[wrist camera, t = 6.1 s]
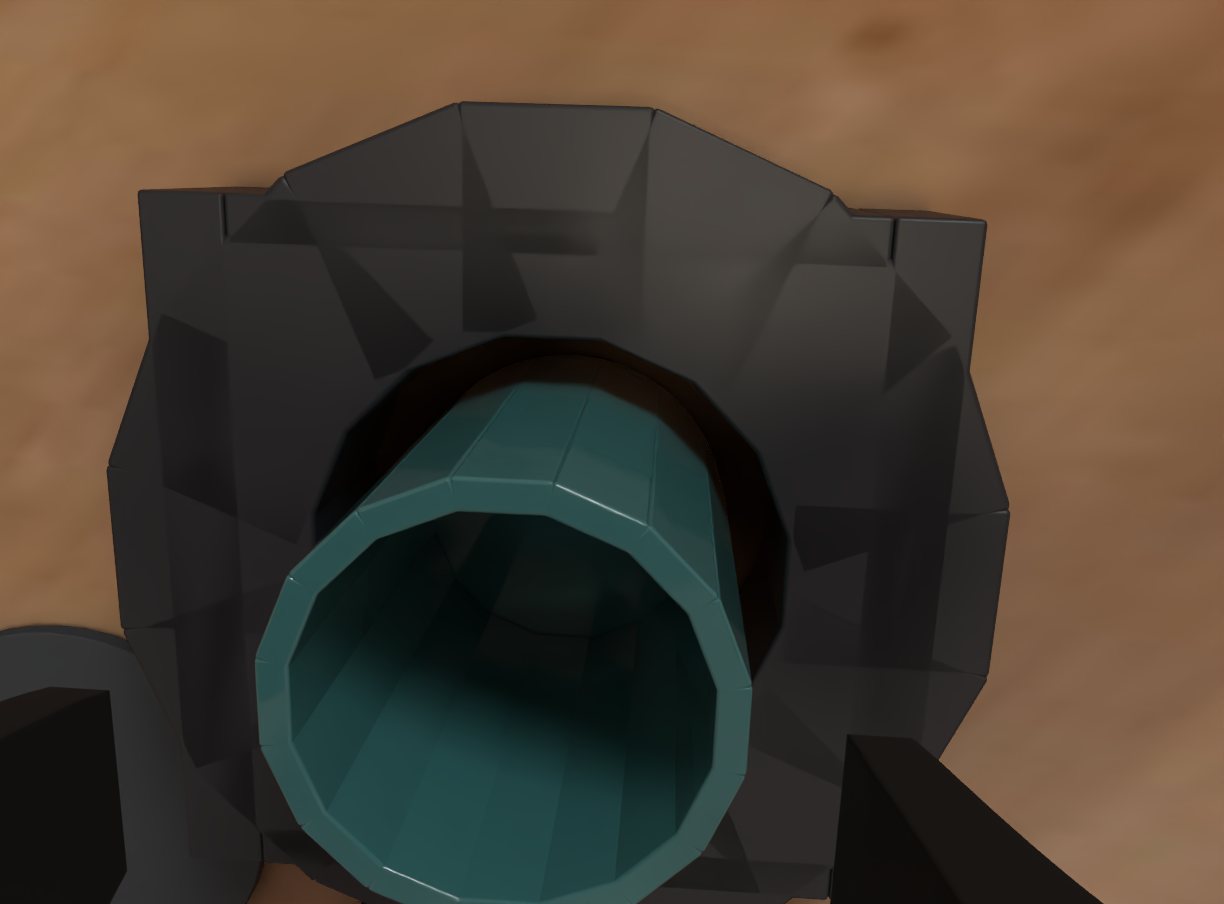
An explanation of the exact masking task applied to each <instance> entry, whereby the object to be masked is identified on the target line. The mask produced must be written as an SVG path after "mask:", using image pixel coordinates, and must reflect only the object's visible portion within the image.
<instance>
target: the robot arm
mask: <svg viewBox="0 0 1224 904" xmlns="http://www.w3.org/2000/svg"><path fill="white" fill-rule="evenodd" d="M126 872H127V863H126V852H125V842H124V832H123V822H122V811H121V801H120V791H119V781H118V771H117V760H116V750H115V740H114V730H113V720H112V709H111V699H110V690H98V689H81V688H65V687H47V688H43V689H39V690H35V691H32V692H28V693H25V694H21V695H18V696H15V697H12V698H9V699H6V700H3V701H0V904H110V903H111V901H112V899H113V897H114V895H115V893H116V891H117V889H118V888H119V886H120V884H121V882H122V880H123V878H124V876H125V874H126ZM830 904H1103V903H1102V902H1101V901H1099V900H1098V899H1097V898H1096V897H1094V896H1093V895H1092V894H1090V893H1089V892H1088V891H1087V890H1085V889H1084V888H1083V887H1082V886H1080V885H1079V884H1078V883H1077V882H1075V881H1074V880H1073V879H1072V878H1071V877H1069V876H1068V875H1067V874H1066V873H1065V872H1063V871H1062V870H1061V869H1060V868H1058V867H1057V866H1056V865H1055V864H1054V863H1052V862H1051V861H1050V860H1049V859H1048V858H1047V857H1045V856H1044V855H1043V854H1042V853H1041V852H1040V851H1038V850H1037V849H1036V848H1035V847H1034V846H1033V845H1031V844H1030V843H1029V842H1028V841H1027V840H1026V839H1025V838H1023V837H1022V836H1021V835H1020V834H1019V833H1018V832H1017V831H1015V830H1014V829H1013V828H1012V827H1011V826H1010V825H1009V824H1008V823H1006V822H1005V821H1004V820H1003V819H1002V818H1001V817H1000V816H999V815H998V814H996V813H995V812H994V811H993V810H992V809H991V808H990V807H989V806H988V805H986V804H985V803H984V802H983V801H982V800H981V799H980V798H979V797H978V796H977V795H976V794H974V793H973V792H972V791H971V790H970V789H969V788H968V787H967V786H966V785H965V784H964V783H962V782H961V781H960V780H959V779H958V778H957V777H956V776H955V775H954V774H953V773H952V772H951V771H949V770H948V769H947V768H946V767H945V766H944V765H943V764H942V763H941V762H940V761H939V760H937V759H936V758H935V757H934V756H933V755H932V754H931V753H930V752H928V751H927V750H926V749H925V748H924V747H923V746H921V745H920V744H919V743H918V742H917V741H915V740H914V739H913V738H903V737H886V736H870V735H853V734H847V740H846V750H845V760H844V770H843V780H842V790H841V800H840V811H839V821H838V831H837V841H836V851H835V861H834V871H833V881H832V891H831V901H830Z"/></svg>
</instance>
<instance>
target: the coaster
mask: <svg viewBox="0 0 1224 904" xmlns="http://www.w3.org/2000/svg"><path fill="white" fill-rule="evenodd" d="M47 687H65V688H81V689H98V690H110V699H111V709H112V720H113V730H114V740H115V750H116V760H117V771H118V781H119V791H120V801H121V811H122V822H123V832H124V842H125V852H126V863H127V872H126V874H125V876H124V878H123V880H122V882H121V884H120V886H119V888H118V889H117V891H116V893H115V895H114V897H113V899H112V901H111V903H110V904H246V903H247V902H248V900H249V898H250V896H251V894H252V892H253V890H254V888H255V886H256V884H257V883H258V880H259V877H260V874H261V871H262V868H263V865H264V862H265V861H264V859H263V861H261V862H250V861H235V860H220V859H205V858H192V857H191V856H190V848H189V835H188V823H187V810H186V798H185V785H184V772H183V760H182V747H181V743H180V741H179V739H178V737H177V735H176V733H175V731H174V730H173V728H172V726H171V724H170V722H169V720H168V718H167V716H166V714H165V712H164V710H163V708H162V706H161V704H160V702H159V701H158V699H157V697H156V695H155V693H154V691H153V689H152V687H151V685H150V683H149V681H148V679H147V677H146V675H145V673H144V671H143V670H142V668H141V666H140V664H139V662H138V660H137V658H136V656H135V654H134V652H133V650H132V648H131V646H130V644H129V642H128V641H127V640H124V639H122V638H119V637H116V636H113V635H110V634H106V633H102V632H98V631H94V630H89V629H85V628H76V627H68V626H27V627H20V628H13V629H7V630H3V631H0V701H3V700H6V699H9V698H12V697H15V696H18V695H21V694H25V693H28V692H32V691H35V690H39V689H43V688H47Z"/></svg>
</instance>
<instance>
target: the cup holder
mask: <svg viewBox="0 0 1224 904" xmlns="http://www.w3.org/2000/svg"><path fill="white" fill-rule="evenodd" d="M138 204H139V217H140V229H141V242H142V255H143V267H144V280H145V293H146V305H147V318H148V330H149V341H148V344H147V347H146V350H145V353H144V356H143V359H142V362H141V365H140V368H139V371H138V374H137V377H136V380H135V383H134V386H133V389H132V392H131V395H130V398H129V401H128V404H127V407H126V410H125V413H124V416H123V419H122V422H121V425H120V428H119V431H118V434H117V437H116V440H115V443H114V446H113V449H112V452H111V455H110V458H109V465H110V466H108V467H107V480H108V490H109V501H110V512H111V523H112V534H113V545H114V555H115V566H116V577H117V588H118V599H119V609H120V620H121V627H122V628H124V635H125V637H126V639H127V641H128V642H129V644H130V646H131V648H132V650H133V652H134V654H135V656H136V658H137V660H138V662H139V664H140V666H141V668H142V670H143V671H144V673H145V675H146V677H147V679H148V681H149V683H150V685H151V687H152V689H153V691H154V693H155V695H156V697H157V699H158V701H159V702H160V704H161V706H162V708H163V710H164V712H165V714H166V716H167V718H168V720H169V722H170V724H171V726H172V728H173V730H174V731H175V733H176V735H177V737H178V739H179V741H180V743H181V747H182V760H183V772H184V785H185V798H186V810H187V823H188V835H189V848H190V856H191V857H192V858H205V859H220V860H235V861H250V862H261V861H263V859H264V861H265V862H268V863H283V864H295V865H296V866H298V867H299V868H300V869H301V870H302V871H303V872H304V873H305V874H306V875H307V876H309V877H310V878H311V879H312V880H315V879H316V882H318V883H320V884H322V885H325V886H327V887H329V888H332V889H334V890H336V891H339V892H341V893H343V894H346V895H348V896H350V897H353V898H355V899H358V900H360V901H362V902H365V903H367V904H401V903H399V902H396V901H394V900H392V899H389V898H387V897H384V896H382V895H380V894H377V893H375V892H373V891H371V890H369V887H364V886H363V885H362V884H361V883H360V882H359V881H358V880H357V879H356V878H355V877H353V876H352V875H351V874H350V873H349V872H348V871H347V870H346V869H345V868H344V867H343V866H341V865H340V864H339V863H338V862H337V861H336V860H335V859H334V858H333V857H332V856H331V855H329V854H328V853H327V852H326V851H325V850H324V849H323V848H322V847H321V846H320V845H319V844H317V843H316V842H315V841H314V840H313V839H312V838H311V837H310V836H309V835H308V834H307V833H305V832H304V831H303V830H302V828H301V825H299V824H298V823H297V821H296V819H295V817H294V815H293V813H292V811H291V809H290V807H289V805H288V803H287V801H286V799H285V797H284V795H283V793H282V791H281V789H280V787H279V785H278V783H277V781H276V779H275V777H274V775H273V773H272V771H271V769H270V767H269V765H268V763H267V761H266V759H265V757H264V755H263V753H262V751H261V745H260V744H259V729H258V712H257V695H256V677H255V659H256V651H257V649H258V646H259V644H260V641H261V639H262V636H263V634H264V631H265V629H266V626H267V624H268V621H269V619H270V616H271V613H272V611H273V608H274V606H275V603H276V601H277V598H278V596H279V593H280V591H281V588H282V586H283V583H284V581H285V578H286V577H287V576H288V574H289V573H290V570H291V569H292V568H293V567H294V566H295V565H296V564H297V563H298V562H299V561H300V560H301V559H302V558H303V557H304V556H305V555H306V554H307V553H308V552H309V551H310V550H311V549H312V548H313V547H314V546H315V545H316V544H317V543H318V542H319V541H320V540H321V539H322V538H323V537H324V536H325V534H326V533H327V532H328V531H329V530H330V529H331V528H332V527H333V526H334V525H335V524H336V523H337V522H338V521H339V520H340V519H341V518H342V517H343V516H344V515H345V514H346V513H347V512H348V511H349V510H350V509H351V508H352V507H353V506H354V505H355V504H356V503H357V502H358V501H359V500H360V499H361V497H362V496H363V495H364V494H365V493H366V492H367V491H368V490H369V489H370V488H371V487H372V486H373V485H374V484H375V483H376V461H375V458H376V455H377V453H378V451H379V448H380V446H381V443H382V441H383V438H384V436H385V433H386V431H387V428H388V426H389V423H390V421H391V419H392V416H393V414H394V411H395V409H396V406H397V404H398V401H399V399H400V396H401V394H402V392H403V389H404V388H406V387H407V386H408V385H409V384H410V383H411V382H412V381H413V380H414V379H415V378H416V377H417V376H418V375H419V374H420V373H421V372H422V371H423V370H424V369H425V368H426V367H427V366H428V365H429V364H431V363H433V362H436V361H439V360H442V359H444V358H447V357H450V356H452V355H455V354H458V353H460V352H463V351H466V350H468V349H471V348H474V347H476V346H479V345H482V344H485V343H487V342H490V341H493V340H495V339H498V338H501V337H524V338H548V339H572V340H596V341H603V342H605V343H607V344H609V345H611V346H614V347H616V348H618V349H620V350H622V351H624V352H627V353H629V354H631V355H633V356H635V357H638V358H640V359H642V360H644V361H646V362H648V363H651V364H653V365H655V366H657V367H659V368H661V369H664V370H666V371H668V372H670V373H672V374H674V375H677V376H679V377H681V378H683V379H685V380H688V381H690V382H691V383H692V384H693V385H694V386H695V387H696V388H697V389H698V390H699V391H700V392H701V393H702V394H703V395H704V397H705V398H706V399H707V400H708V401H709V402H710V403H711V404H712V405H713V406H714V407H715V408H716V410H717V411H718V412H719V413H720V414H721V415H722V416H723V417H724V418H725V419H726V420H727V421H728V423H729V424H730V425H731V426H732V427H733V428H734V429H735V430H736V431H737V432H738V433H739V434H740V435H741V437H742V438H743V439H744V440H745V441H746V442H747V443H748V444H749V445H750V446H751V447H752V448H753V450H754V451H755V452H756V454H757V456H758V459H759V462H760V465H761V468H762V471H763V473H764V476H765V479H766V482H767V485H768V490H767V503H766V517H765V531H764V544H763V552H762V554H761V556H760V558H759V560H758V562H757V564H756V566H755V568H754V570H753V571H752V573H751V575H750V577H749V579H748V581H747V583H746V585H745V587H744V589H743V590H742V592H741V594H740V596H739V598H740V605H741V611H742V618H743V625H744V632H745V639H746V646H747V653H748V660H749V666H750V673H751V680H752V687H753V695H752V709H751V722H750V736H749V750H748V763H747V772H746V774H745V779H744V781H743V783H742V785H741V786H740V788H739V790H738V792H737V794H736V795H735V797H734V799H733V801H732V803H731V804H730V806H729V808H728V810H727V811H726V813H725V815H724V817H723V819H722V820H721V822H720V824H719V826H718V828H717V829H716V831H715V833H714V835H713V837H712V838H711V840H710V842H709V844H708V846H707V847H706V849H705V850H704V851H703V852H702V853H701V855H700V856H699V857H697V858H696V859H695V860H693V861H692V862H691V863H690V864H688V865H687V866H686V867H684V868H683V869H682V870H680V871H679V872H678V873H676V874H675V875H674V876H672V877H671V878H670V879H669V880H667V881H666V882H665V883H663V884H662V885H661V886H659V887H658V888H657V889H655V890H654V891H653V892H651V893H650V894H649V895H648V896H646V897H645V898H644V899H642V900H641V901H640V902H638V903H637V904H785V903H786V902H788V901H789V900H790V899H792V898H806V899H821V900H825V899H827V897H828V896H829V898H830V899H831V891H832V881H833V871H834V861H835V851H836V841H837V831H838V821H839V811H840V800H841V790H842V780H843V770H844V760H845V750H846V740H847V734H853V735H870V736H886V737H903V738H913V739H914V740H915V741H917V742H918V743H919V744H920V745H921V746H923V747H924V748H925V749H926V750H927V751H928V752H930V753H931V754H932V755H933V756H934V757H935V758H936V759H937V760H939V758H940V757H941V755H942V753H943V752H944V750H945V748H946V747H947V745H948V743H949V742H950V740H951V739H952V737H953V735H954V734H955V732H956V730H957V729H958V727H959V725H960V724H961V722H962V721H963V719H964V717H965V716H966V714H967V712H968V711H969V709H970V708H971V706H972V704H973V703H974V701H975V699H976V698H977V696H978V694H979V693H980V691H981V690H982V688H983V686H984V685H985V683H986V681H987V677H986V676H987V675H988V673H989V667H990V660H991V652H992V645H993V637H994V630H995V623H996V615H997V608H998V600H999V593H1000V586H1001V578H1002V571H1003V563H1004V556H1005V549H1006V541H1007V534H1008V526H1009V519H1010V512H1009V510H1008V508H1009V501H1008V497H1007V494H1006V491H1005V487H1004V484H1003V481H1002V477H1001V474H1000V471H999V467H998V464H997V461H996V457H995V454H994V451H993V447H992V444H991V441H990V437H989V434H988V431H987V427H986V424H985V421H984V418H983V414H982V411H981V408H980V404H979V401H978V398H977V394H976V391H975V388H974V384H973V381H972V378H971V374H970V364H971V356H972V347H973V339H974V331H975V322H976V314H977V306H978V297H979V289H980V281H981V273H982V264H983V256H984V248H985V239H986V231H987V222H986V221H985V220H983V219H976V218H970V217H963V216H957V215H950V214H944V213H937V212H931V211H914V210H885V209H858V210H857V209H852V208H847V206H846V205H845V204H844V203H843V202H842V201H841V199H840V198H839V197H838V196H836V195H834V194H833V192H832V191H831V190H829V189H827V188H825V187H823V186H821V185H818V184H816V183H814V182H812V181H810V180H808V179H806V178H804V177H802V176H799V175H797V174H795V173H793V172H791V171H789V170H787V169H785V168H783V167H780V166H778V165H776V164H774V163H772V162H770V161H768V160H766V159H764V158H761V157H759V156H757V155H755V154H753V153H751V152H749V151H747V150H745V149H742V148H740V147H738V146H736V145H734V144H732V143H730V142H728V141H726V140H724V139H721V138H719V137H717V136H715V135H713V134H711V133H709V132H707V131H705V130H702V129H700V128H698V127H696V126H694V125H692V124H690V123H688V122H686V121H683V120H681V119H679V118H677V117H675V116H673V115H671V114H669V113H667V112H664V111H662V110H660V109H655V110H654V109H653V108H651V107H630V106H598V105H565V104H533V103H500V102H468V101H462V102H460V103H452V104H450V105H447V106H445V107H443V108H440V109H438V110H435V111H433V112H430V113H428V114H425V115H423V116H421V117H418V118H416V119H413V120H411V121H408V122H406V123H403V124H401V125H399V126H396V127H394V128H391V129H389V130H386V131H384V132H381V133H379V134H377V135H374V136H372V137H369V138H367V139H364V140H362V141H359V142H357V143H355V144H352V145H350V146H347V147H345V148H342V149H340V150H337V151H335V152H333V153H330V154H328V155H325V156H323V157H320V158H318V159H315V160H313V161H311V162H308V163H306V164H303V165H301V166H298V167H296V168H294V169H291V170H289V171H286V172H285V173H284V176H282V177H280V178H278V179H277V180H276V181H275V183H274V184H273V185H272V186H271V187H270V188H260V187H211V188H180V189H149V190H140V191H138Z"/></svg>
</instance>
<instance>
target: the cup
mask: <svg viewBox="0 0 1224 904" xmlns="http://www.w3.org/2000/svg"><path fill="white" fill-rule="evenodd" d="M255 677H256V695H257V712H258V729H259V744H260V745H261V751H262V753H263V755H264V757H265V759H266V761H267V763H268V765H269V767H270V769H271V771H272V773H273V775H274V777H275V779H276V781H277V783H278V785H279V787H280V789H281V791H282V793H283V795H284V797H285V799H286V801H287V803H288V805H289V807H290V809H291V811H292V813H293V815H294V817H295V819H296V821H297V823H298V824H299V825H301V828H302V830H303V831H304V832H305V833H307V834H308V835H309V836H310V837H311V838H312V839H313V840H314V841H315V842H316V843H317V844H319V845H320V846H321V847H322V848H323V849H324V850H325V851H326V852H327V853H328V854H329V855H331V856H332V857H333V858H334V859H335V860H336V861H337V862H338V863H339V864H340V865H341V866H343V867H344V868H345V869H346V870H347V871H348V872H349V873H350V874H351V875H352V876H353V877H355V878H356V879H357V880H358V881H359V882H360V883H361V884H362V885H363V886H364V887H369V890H371V891H373V892H375V893H377V894H380V895H382V896H384V897H387V898H389V899H392V900H394V901H396V902H399V903H401V904H637V903H638V902H640V901H641V900H642V899H644V898H645V897H646V896H648V895H649V894H650V893H651V892H653V891H654V890H655V889H657V888H658V887H659V886H661V885H662V884H663V883H665V882H666V881H667V880H669V879H670V878H671V877H672V876H674V875H675V874H676V873H678V872H679V871H680V870H682V869H683V868H684V867H686V866H687V865H688V864H690V863H691V862H692V861H693V860H695V859H696V858H697V857H699V856H700V855H701V853H702V852H703V851H704V850H705V849H706V847H707V846H708V844H709V842H710V840H711V838H712V837H713V835H714V833H715V831H716V829H717V828H718V826H719V824H720V822H721V820H722V819H723V817H724V815H725V813H726V811H727V810H728V808H729V806H730V804H731V803H732V801H733V799H734V797H735V795H736V794H737V792H738V790H739V788H740V786H741V785H742V783H743V781H744V779H745V774H746V772H747V763H748V750H749V736H750V722H751V709H752V695H753V687H752V680H751V673H750V666H749V660H748V653H747V646H746V639H745V632H744V625H743V618H742V611H741V605H740V598H739V591H738V584H737V577H736V570H735V563H734V556H733V550H732V543H731V536H730V529H729V522H728V515H727V508H726V501H725V495H724V488H723V486H722V483H721V480H720V477H719V474H718V470H717V467H716V463H715V460H714V456H713V454H712V452H711V449H710V447H709V445H708V442H707V440H706V438H705V436H704V435H703V433H702V431H701V430H700V428H699V426H698V425H697V423H696V422H695V420H694V419H693V418H692V416H691V415H690V414H689V413H688V411H687V410H686V409H685V408H684V407H683V405H682V404H681V403H680V402H679V401H677V400H676V399H675V398H674V397H673V396H672V395H671V394H670V393H669V392H668V391H667V390H665V389H664V388H663V387H661V386H660V385H658V384H657V383H656V382H654V381H653V380H651V379H650V378H648V377H646V376H644V375H642V374H641V373H639V372H637V371H635V370H633V369H631V368H628V367H626V366H623V365H620V364H618V363H615V362H612V361H608V360H604V359H600V358H595V357H589V356H580V355H551V356H544V357H538V358H532V359H528V360H525V361H521V362H518V363H515V364H512V365H510V366H507V367H505V368H503V369H501V370H498V371H496V372H494V373H492V374H491V375H489V376H488V377H485V378H482V379H481V380H480V381H478V382H476V383H475V384H474V385H473V386H472V387H471V388H470V389H469V390H468V391H467V392H466V393H464V394H463V395H462V396H461V397H460V398H459V399H458V400H457V401H456V402H455V403H454V404H453V405H452V406H451V407H450V408H449V409H448V410H447V411H446V412H445V413H444V414H443V415H442V416H440V417H439V418H438V419H437V420H436V421H435V422H434V423H433V424H432V425H431V427H430V428H429V429H428V430H427V431H426V432H425V433H424V434H423V435H422V436H421V437H420V438H419V439H418V440H417V441H416V442H415V443H414V444H413V445H412V446H411V447H410V448H409V449H408V450H407V451H406V452H405V453H404V454H403V455H402V456H401V457H400V458H399V459H398V460H397V461H396V463H395V464H394V465H393V466H392V467H391V468H390V469H389V470H388V471H387V472H386V473H385V474H384V475H383V476H382V477H381V478H380V479H379V480H378V481H377V482H376V483H375V484H374V485H373V486H372V487H371V488H370V489H369V490H368V491H367V492H366V493H365V494H364V495H363V496H362V497H361V499H360V500H359V501H358V502H357V503H356V504H355V505H354V506H353V507H352V508H351V509H350V510H349V511H348V512H347V513H346V514H345V515H344V516H343V517H342V518H341V519H340V520H339V521H338V522H337V523H336V524H335V525H334V526H333V527H332V528H331V529H330V530H329V531H328V532H327V533H326V534H325V536H324V537H323V538H322V539H321V540H320V541H319V542H318V543H317V544H316V545H315V546H314V547H313V548H312V549H311V550H310V551H309V552H308V553H307V554H306V555H305V556H304V557H303V558H302V559H301V560H300V561H299V562H298V563H297V564H296V565H295V566H294V567H293V568H292V569H291V570H290V573H289V574H288V576H287V577H286V578H285V581H284V583H283V586H282V588H281V591H280V593H279V596H278V598H277V601H276V603H275V606H274V608H273V611H272V613H271V616H270V619H269V621H268V624H267V626H266V629H265V631H264V634H263V636H262V639H261V641H260V644H259V646H258V649H257V651H256V659H255Z"/></svg>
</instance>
